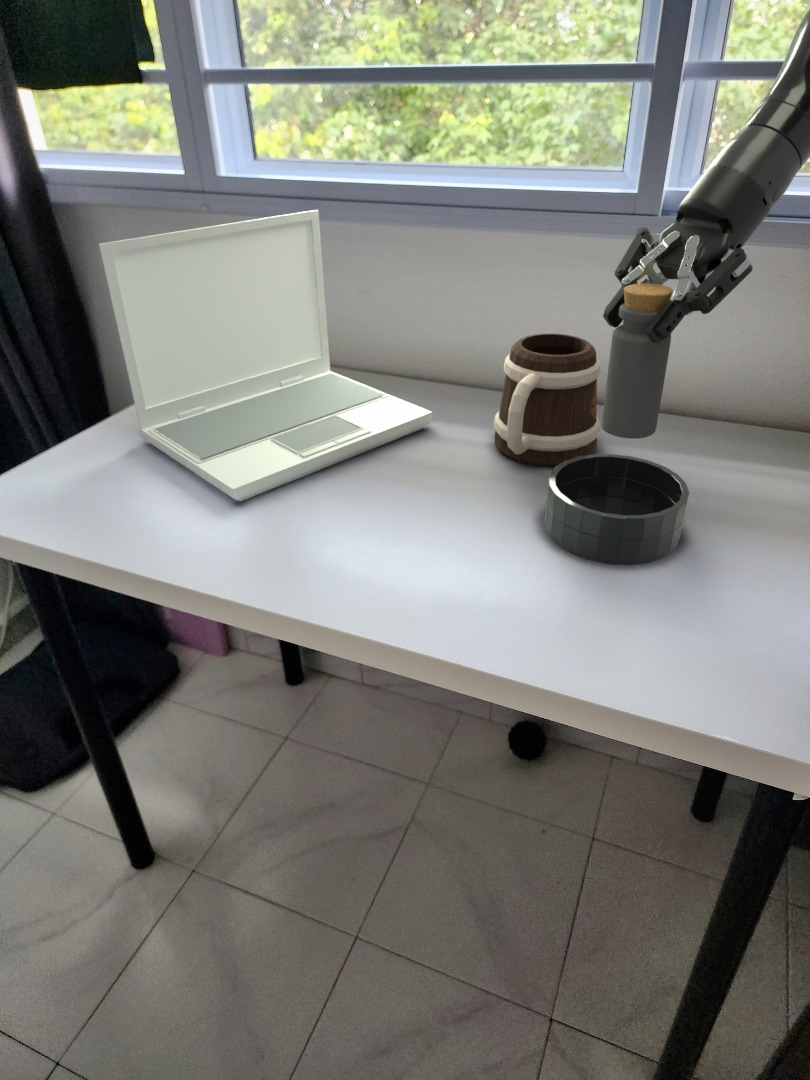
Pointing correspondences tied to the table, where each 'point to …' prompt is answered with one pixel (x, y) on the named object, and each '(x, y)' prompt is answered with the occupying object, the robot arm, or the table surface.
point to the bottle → (636, 365)
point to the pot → (615, 508)
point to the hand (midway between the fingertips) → (630, 329)
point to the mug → (549, 400)
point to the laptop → (242, 354)
